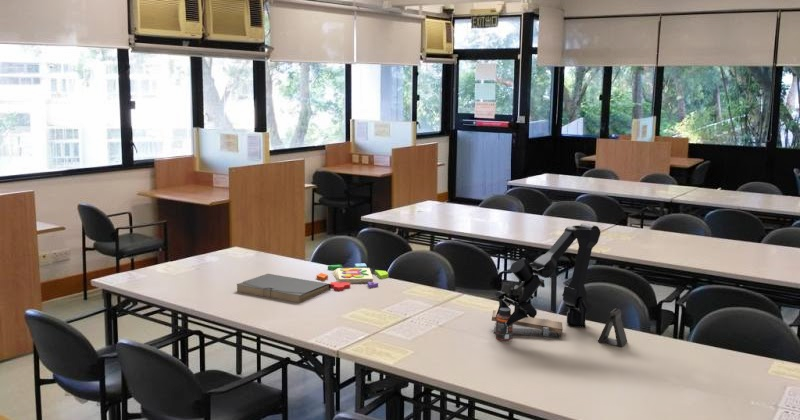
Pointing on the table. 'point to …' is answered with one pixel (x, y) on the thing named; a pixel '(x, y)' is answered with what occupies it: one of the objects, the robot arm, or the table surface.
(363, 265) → the pattern blocks set
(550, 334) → the beam stand
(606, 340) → the grey a-frame stand
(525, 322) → the balance beam
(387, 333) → the table surface
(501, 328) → the supplement bottle
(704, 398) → the table surface
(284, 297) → the file folder
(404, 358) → the table surface
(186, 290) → the table surface
